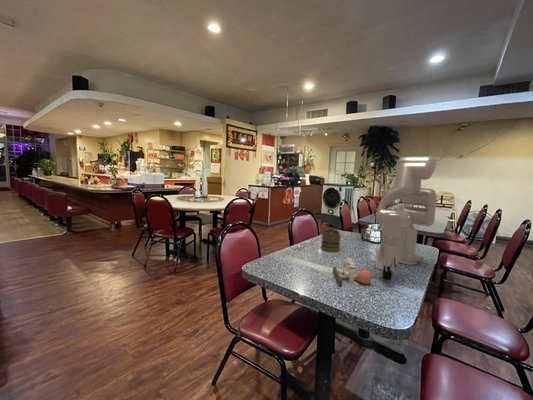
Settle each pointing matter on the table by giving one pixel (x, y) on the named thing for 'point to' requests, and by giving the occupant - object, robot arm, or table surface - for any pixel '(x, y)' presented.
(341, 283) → the walnut rail
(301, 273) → the table surface
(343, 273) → the front pin
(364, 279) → the ball
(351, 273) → the back pin left
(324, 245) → the piston
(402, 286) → the table surface
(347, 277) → the back pin right
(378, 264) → the white cup
